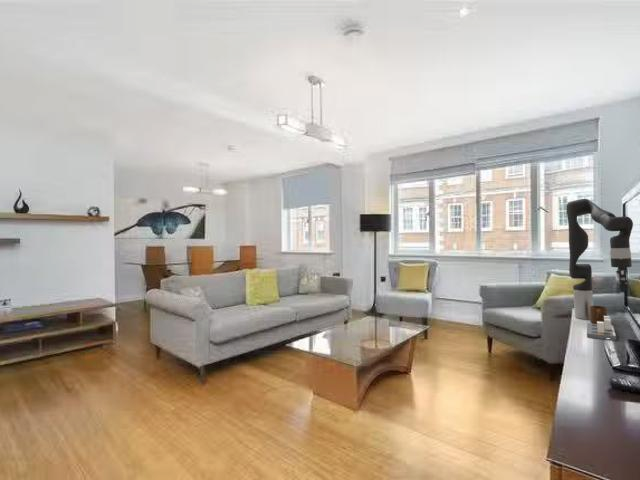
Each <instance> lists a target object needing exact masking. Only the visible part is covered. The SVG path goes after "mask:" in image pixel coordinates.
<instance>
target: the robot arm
mask: <svg viewBox="0 0 640 480" xmlns="http://www.w3.org/2000/svg"><path fill="white" fill-rule="evenodd" d="M565 210H566V211H565V212H566V217H567V223H568V247H569V268H568V269H569V276H570V278H571V279H572V280H573V279H574V280H576V279H577V280H584V281H582V282H580V283H576V284H574V285H573V286H572V287H573V290H572V291H573V305H574V317H575V318H576V319H582V320H590V306H594V297H593V296H594V294H593V293H594V292H593V275H592V273H593V271H592V270H593V269H592V265H591V264H590V263H577V262H578V260H579V258H580V257H581V256H582V255H583V254H584V253H585V251H586V250H587V249H588V247H589V235H588V233H587V232H586V230H584V228H582V227H581V225H580V224H579V222H578V217H579V216H585V215H589V214H590V218H591V219H592V221H593V222H596V223H597V224H599V225H601V226H602V227H603V228H604V229H605V230H606V231H608V232H618V234H617V235H614V236H611V237H610V240H609V243H610V244H609V245H610V250H609V251H610V252H609V253H610V254H609V255H610V256H609V257H610V266H611V268H617V269H616V270H615V273H616V278H617V281H618V287H619V290H620V292H621V293H625V292H627V284H628V270H626V268H631V267H632V266H633V265H632V251H631V247H630V238H631V233H632V230H633V227H634V222H633V219H632V218H631V217H629V216H616V215H615V214H614V213H612V212H611V211H607V210H605V209H602V208H601V207H600V206H598V205H597V204H595V203H594V202H593V201H591V200H589V199H588V198H580V199H575V200H572V201H571V200H570V201H568V202H567V203H566V209H565Z"/></svg>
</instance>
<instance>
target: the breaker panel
mask: <svg viewBox="0 0 640 480" xmlns="http://www.w3.org/2000/svg"><path fill="white" fill-rule="evenodd" d="M586 338H590V339H600V340H607V339H606V338H610V339H612V340H611V341H617V334H616V330H615V327H614V325H612V324H611V330H605V326H604V333H598V329H597V324H593V323H591V322H590V323H589V322H587V324H586Z"/></svg>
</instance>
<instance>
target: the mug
mask: <svg viewBox="0 0 640 480" xmlns="http://www.w3.org/2000/svg"><path fill="white" fill-rule="evenodd" d="M604 316H608V310H607V307H606V306H601V305H593V306H590V319H589V320H590V324H597V321H598V322H604Z"/></svg>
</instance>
